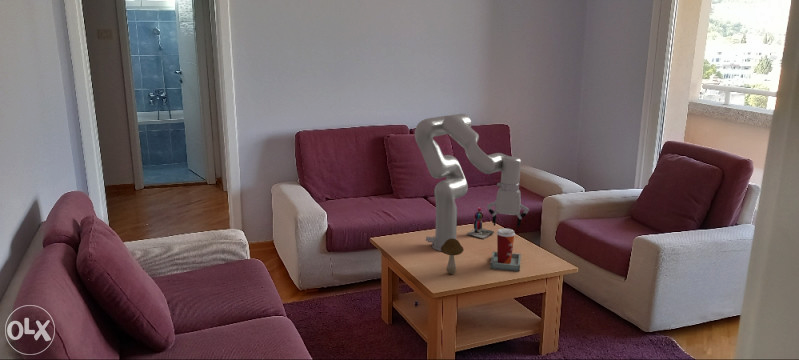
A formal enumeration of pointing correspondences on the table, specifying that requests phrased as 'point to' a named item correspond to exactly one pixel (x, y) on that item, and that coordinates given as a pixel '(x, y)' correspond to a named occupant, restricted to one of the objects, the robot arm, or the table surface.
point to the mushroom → (451, 253)
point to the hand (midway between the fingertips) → (506, 225)
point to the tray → (511, 267)
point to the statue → (479, 226)
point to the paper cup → (505, 245)
